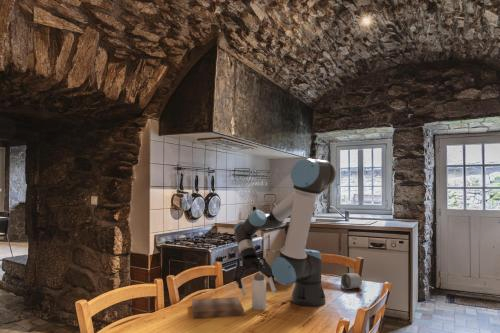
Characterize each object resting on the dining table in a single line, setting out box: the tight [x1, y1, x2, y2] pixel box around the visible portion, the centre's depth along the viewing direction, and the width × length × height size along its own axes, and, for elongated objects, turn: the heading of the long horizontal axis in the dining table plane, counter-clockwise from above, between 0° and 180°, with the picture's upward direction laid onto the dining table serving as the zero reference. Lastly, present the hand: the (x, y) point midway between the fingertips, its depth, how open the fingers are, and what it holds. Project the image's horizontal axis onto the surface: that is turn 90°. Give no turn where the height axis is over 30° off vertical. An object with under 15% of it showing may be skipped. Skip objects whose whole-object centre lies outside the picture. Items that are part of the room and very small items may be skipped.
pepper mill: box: [251, 272, 267, 311], centre depth 153 cm, size 6×6×15 cm
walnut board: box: [191, 296, 245, 319], centre depth 149 cm, size 20×16×2 cm
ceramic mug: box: [340, 272, 362, 290], centre depth 185 cm, size 11×8×8 cm
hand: (259, 293), depth 152 cm, fingers open, 13 cm apart
